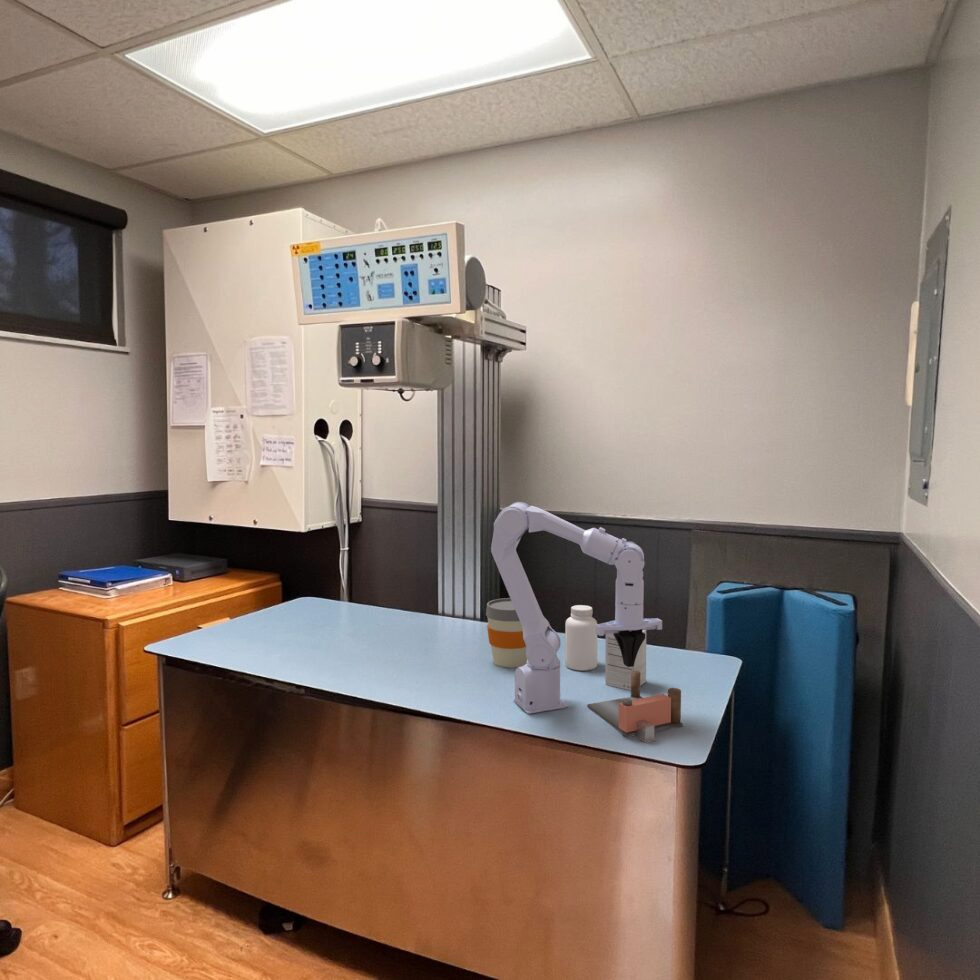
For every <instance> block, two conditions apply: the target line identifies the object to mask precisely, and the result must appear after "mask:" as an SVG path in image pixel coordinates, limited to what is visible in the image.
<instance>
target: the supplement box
mask: <svg viewBox="0 0 980 980" xmlns="http://www.w3.org/2000/svg"><path fill="white" fill-rule="evenodd" d="M642 632H643V633H645V640H644V641H643V643H642V644H641V646H640V648H639V650H638V653H637V656H636V659H635V663H634V666H633V667H627V666H626V665H624V663H623V658H622V654H621V650H620V647H619V645H618V643H617V640H616V638H615V637H614V635H613V634H605V649H604V650H605V651H604V653H605V658H604V660H605V663H604V664H605V667H604V669H605V671H604V672H605V685H607V686H611V687H614V688H618V689H623V690H627V691H631V671H639V672H640V687H641V686H642V685H643V684H645V682H647V630H642Z"/></svg>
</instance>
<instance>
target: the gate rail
mask: <svg viewBox="0 0 980 980" xmlns="http://www.w3.org/2000/svg"><path fill="white" fill-rule="evenodd" d="M641 720H647V721H648V722H650V723H651V724H653V725H654V726H657V725H661V724H665V723H669V722H671V698H670V697H669V696H668V694H665V693H661V694H656V695H655V694H654V695H650V696H646V697H643V698H640V699H636V700H630V699H623V702H622V703H619V728H620V729H621V730H623V731H624V732H626V733H627V732H631V731H635V730H637V721H641Z"/></svg>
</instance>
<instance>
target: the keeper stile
mask: <svg viewBox="0 0 980 980" xmlns="http://www.w3.org/2000/svg"><path fill="white" fill-rule="evenodd" d="M636 737H637V738H639V740H641V741H642V742H644V743H645V744H647V743H650V742H655V732H654V725H653V724H651V723H650V722H648V721H647V720H641V721H637V735H636Z"/></svg>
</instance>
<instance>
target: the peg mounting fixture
mask: <svg viewBox="0 0 980 980" xmlns="http://www.w3.org/2000/svg"><path fill="white" fill-rule="evenodd" d="M667 696H669V697H670V698H671V722H669V723H665V724H661V725H657V726H654V733H655V732H659V731H660V732H661V731H664V730H670V729H676V728H680V727H683V724H684V723H683V722H682V720H681V716H682V714H681V713H682V690H681V689H680V688H678V687H677V688H676V687H669V688H668V689H667ZM640 698H644V697H642V695H641V686H640V672H639V671H631V690H630V696H628V697H623V698H616V699H611V700H610V699H609V700H605V701H604V700H603V701H598V702H593V703H588V704H586V705H587V708H588V709H589V710H591V711H592V712H593V713H595V715H596V716H598V717H600V718H601V719H602V720H604V721H605V722H606V723H608V724H609V725H610V726H611V727H612V728H614V729H615V730H617V731H618V732H619V733H621V734H622V735H624V737H626V738H628V737H634V736H637V730H635V731H631V732H627V733H626V732H624V731H623V730H621V729H620V728H619V703H622V702H623V699H630V700H636V699H640Z"/></svg>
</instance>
